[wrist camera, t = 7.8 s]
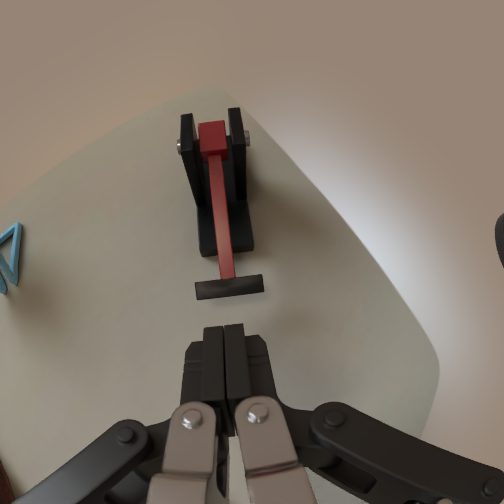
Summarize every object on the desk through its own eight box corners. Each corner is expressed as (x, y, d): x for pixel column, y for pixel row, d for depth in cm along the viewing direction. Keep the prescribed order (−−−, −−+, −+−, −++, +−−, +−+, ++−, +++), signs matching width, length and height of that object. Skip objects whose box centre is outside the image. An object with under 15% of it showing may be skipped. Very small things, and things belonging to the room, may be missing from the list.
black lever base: (258, 250, 28) (262, 195, 19) (196, 257, 28) (172, 206, 19) (241, 142, 33) (239, 76, 24) (191, 148, 33) (177, 84, 24)
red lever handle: (262, 291, 23) (265, 292, 21) (200, 299, 23) (195, 300, 20) (241, 131, 25) (241, 117, 22) (185, 138, 24) (181, 125, 22)
